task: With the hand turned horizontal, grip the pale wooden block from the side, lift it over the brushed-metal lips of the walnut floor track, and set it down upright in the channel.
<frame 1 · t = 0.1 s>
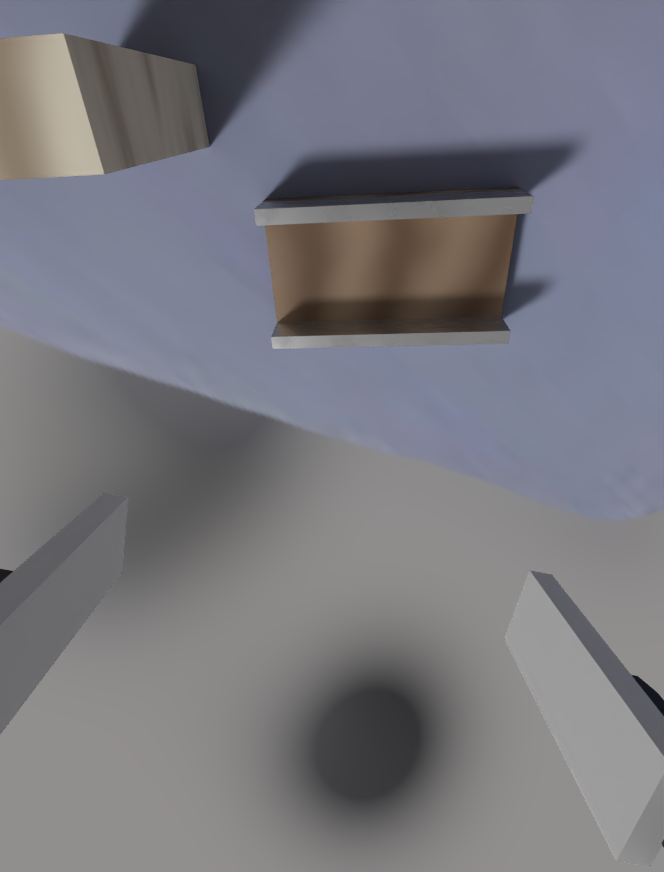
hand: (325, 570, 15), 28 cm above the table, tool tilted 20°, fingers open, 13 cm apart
pale wooden block: (159, 110, 32), on the table
floor track: (387, 265, 36), on the table
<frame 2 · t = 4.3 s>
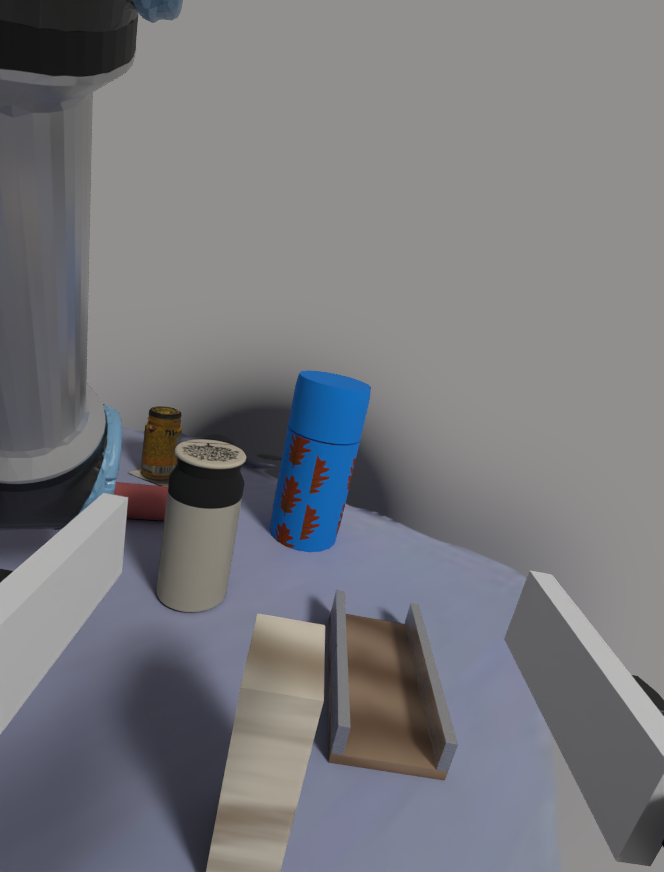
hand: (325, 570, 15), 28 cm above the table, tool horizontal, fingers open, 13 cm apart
travel mug: (191, 593, 56), on the table
condiment: (161, 476, 84), on the table
thermos: (302, 534, 74), on the table
pale wooden block: (246, 839, 32), on the table
blood vessel: (43, 511, 66), on the table
floor track: (377, 685, 48), on the table
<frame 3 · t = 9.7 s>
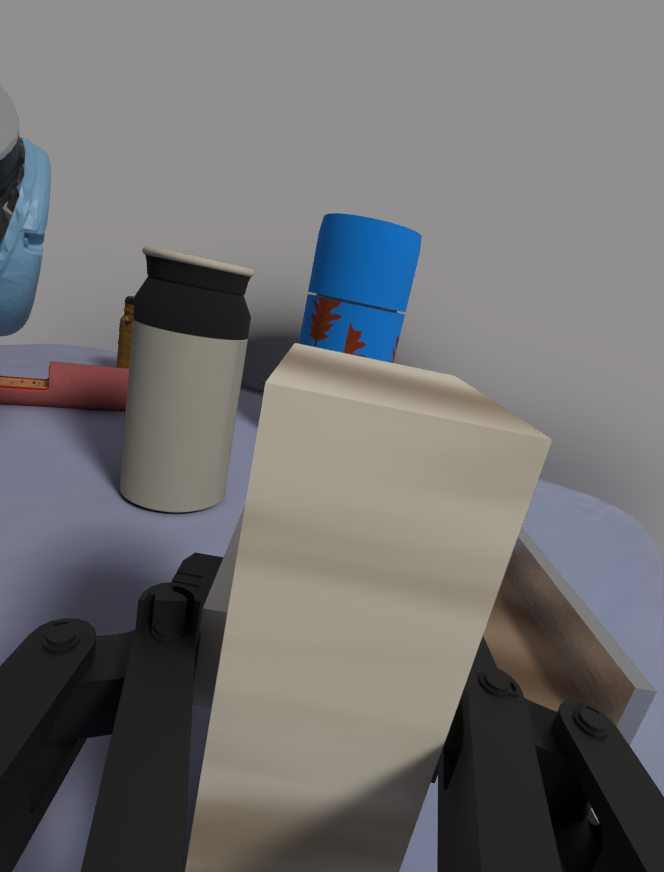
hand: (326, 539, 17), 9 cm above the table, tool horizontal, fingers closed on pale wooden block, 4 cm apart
travel mug: (173, 494, 38), on the table
condiment: (143, 389, 66), on the table
thermos: (325, 450, 56), on the table
floor track: (464, 614, 30), on the table
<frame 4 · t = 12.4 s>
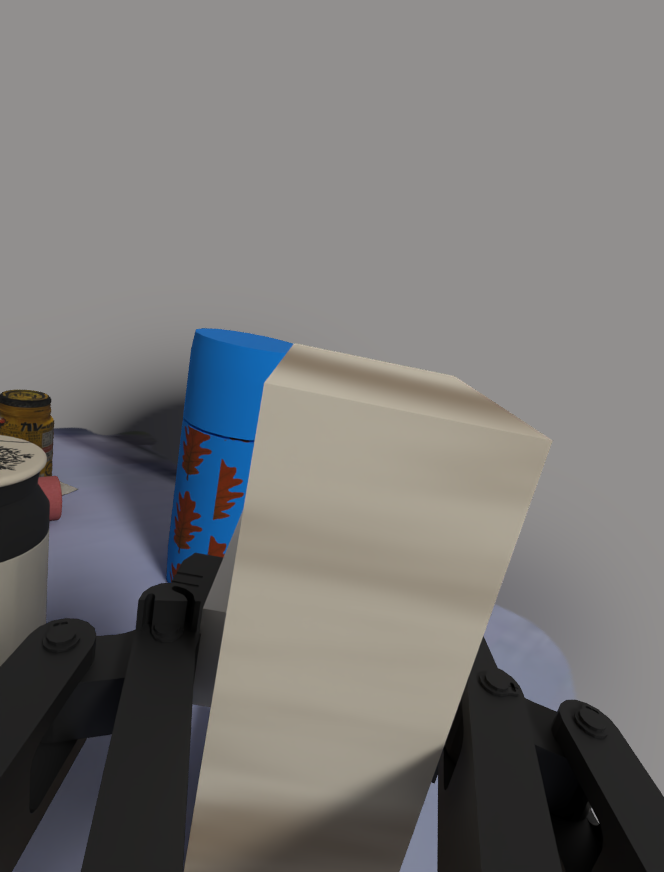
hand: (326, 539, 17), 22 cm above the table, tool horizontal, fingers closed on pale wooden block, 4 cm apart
condiment: (27, 490, 59), on the table
thermos: (217, 576, 50), on the table
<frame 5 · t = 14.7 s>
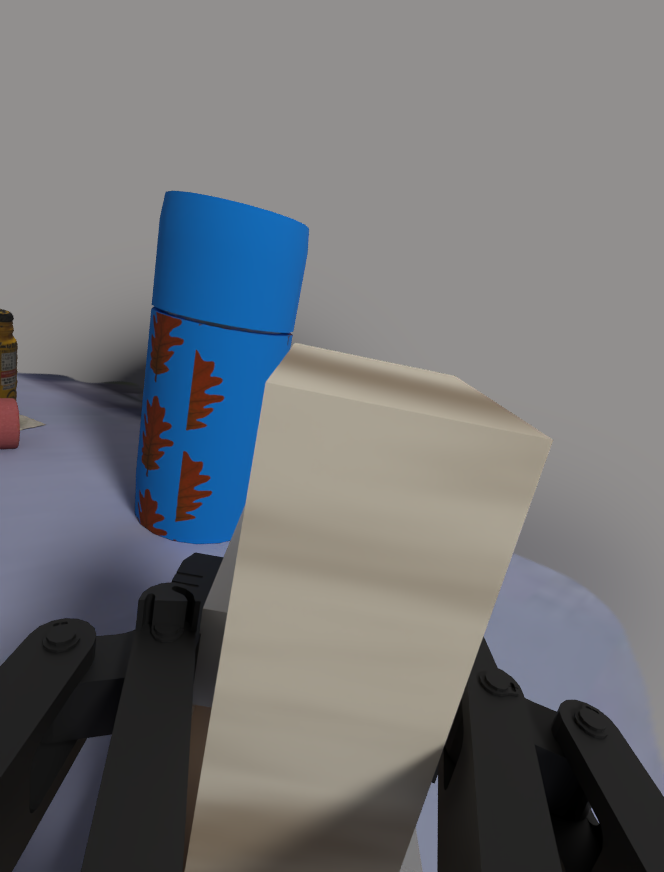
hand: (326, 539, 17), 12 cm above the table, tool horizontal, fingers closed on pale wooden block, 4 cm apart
thermos: (197, 514, 42), on the table
when the fingers open (11 cm above the table, at t = 15.6 s): pale wooden block drops 1 cm, resting on floor track.
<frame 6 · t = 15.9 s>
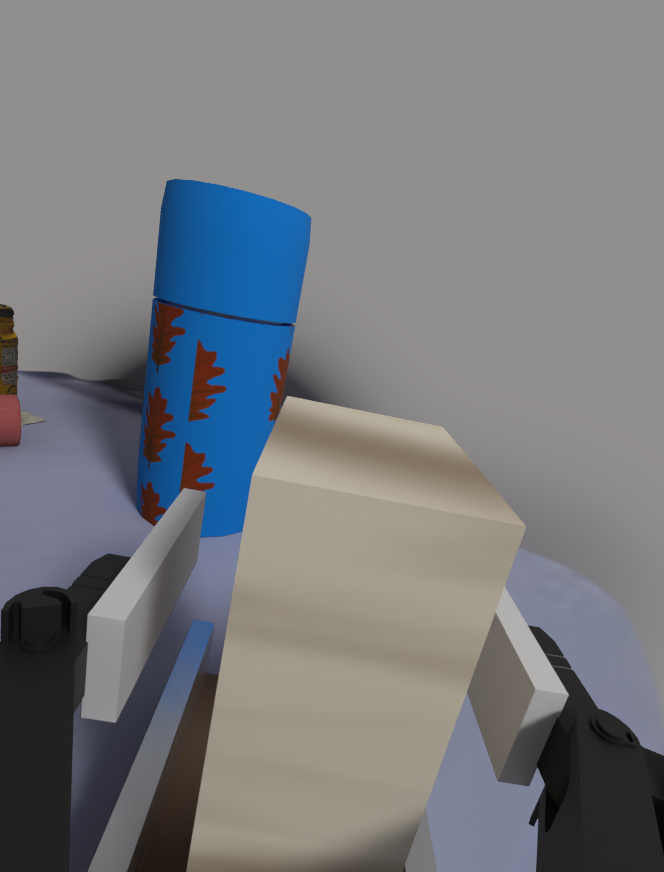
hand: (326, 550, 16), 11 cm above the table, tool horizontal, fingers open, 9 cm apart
thermos: (200, 508, 42), on the table
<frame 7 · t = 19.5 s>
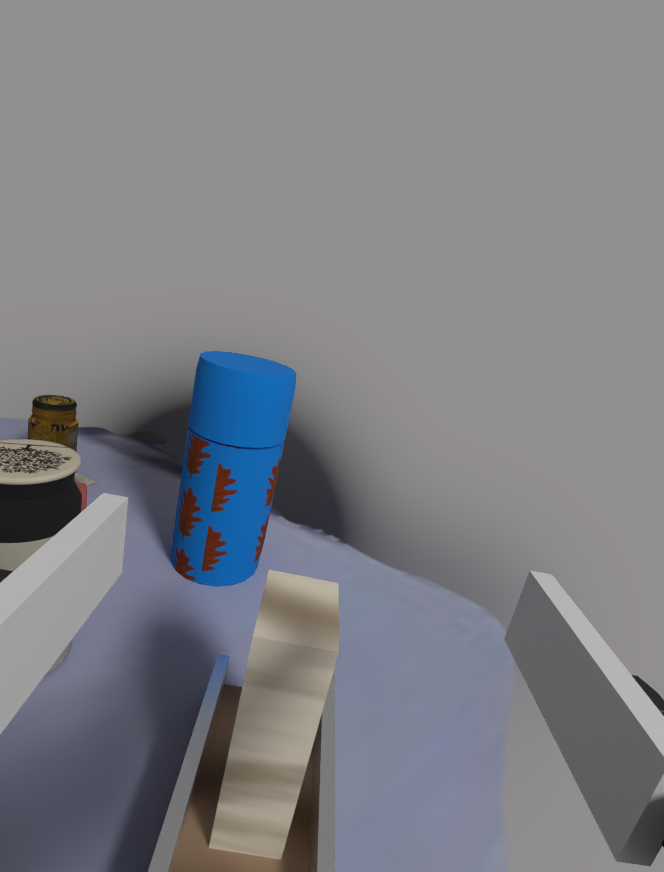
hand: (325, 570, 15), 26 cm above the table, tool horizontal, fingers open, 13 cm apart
travel mug: (17, 654, 40), on the table
condiment: (54, 481, 68), on the table
thermos: (215, 561, 58), on the table
pale wooden block: (253, 802, 32), point 1 cm above the table, touching floor track
floor track: (250, 811, 32), on the table
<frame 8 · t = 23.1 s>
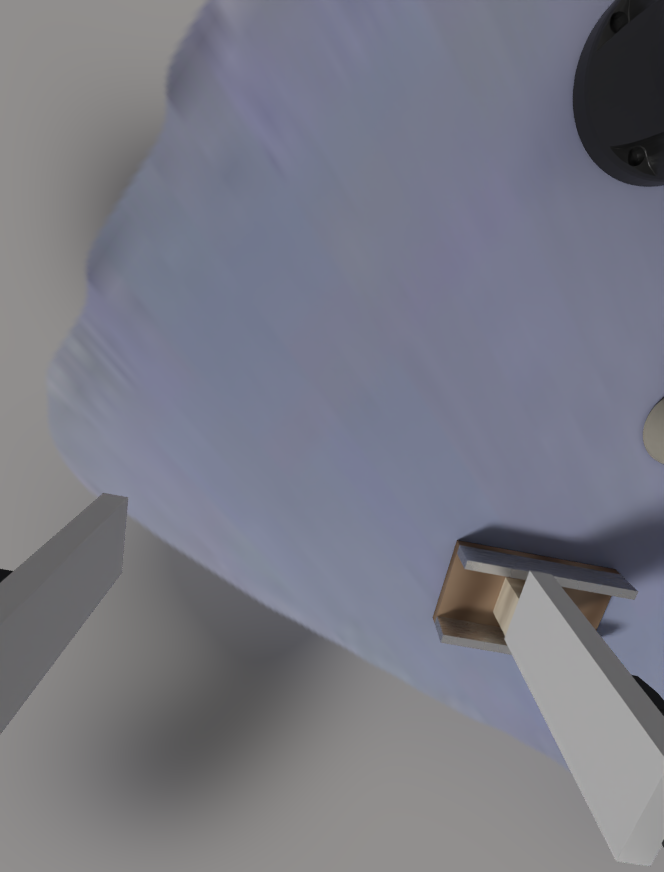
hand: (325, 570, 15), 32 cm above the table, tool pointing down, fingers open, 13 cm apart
pale wooden block: (525, 599, 51), point 1 cm above the table, touching floor track
floor track: (522, 593, 52), on the table
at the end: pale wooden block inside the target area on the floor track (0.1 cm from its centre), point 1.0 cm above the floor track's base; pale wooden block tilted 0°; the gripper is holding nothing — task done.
